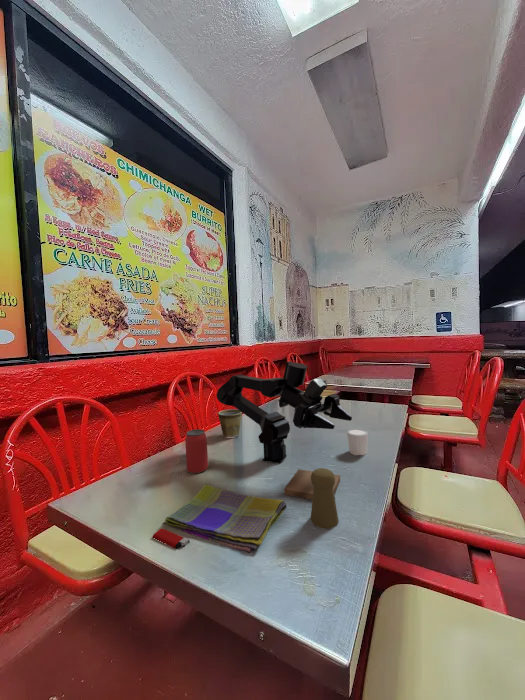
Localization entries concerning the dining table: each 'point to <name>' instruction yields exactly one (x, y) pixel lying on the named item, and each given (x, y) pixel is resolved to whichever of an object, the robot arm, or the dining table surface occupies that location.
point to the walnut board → (304, 485)
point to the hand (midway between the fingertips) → (343, 423)
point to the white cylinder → (357, 441)
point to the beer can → (196, 451)
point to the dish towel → (227, 517)
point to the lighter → (170, 538)
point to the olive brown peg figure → (323, 499)
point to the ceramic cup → (230, 422)
